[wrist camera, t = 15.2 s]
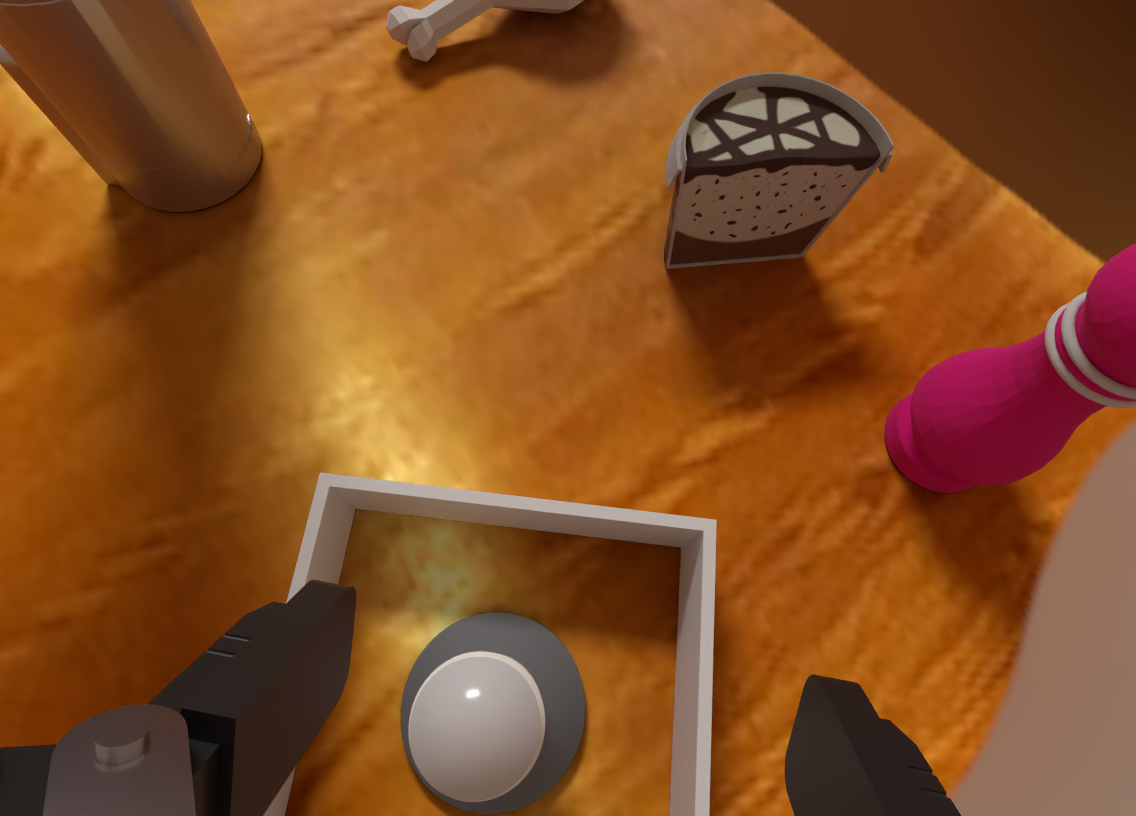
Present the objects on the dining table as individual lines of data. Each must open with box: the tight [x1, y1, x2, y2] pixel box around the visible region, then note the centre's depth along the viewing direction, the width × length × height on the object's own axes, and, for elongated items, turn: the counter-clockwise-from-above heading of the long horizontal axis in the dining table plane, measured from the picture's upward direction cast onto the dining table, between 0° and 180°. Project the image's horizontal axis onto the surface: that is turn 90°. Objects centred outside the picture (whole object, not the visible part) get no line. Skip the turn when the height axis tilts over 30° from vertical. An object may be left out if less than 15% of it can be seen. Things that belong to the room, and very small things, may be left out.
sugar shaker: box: [409, 651, 545, 802], centre depth 27 cm, size 5×5×10 cm
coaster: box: [401, 612, 585, 814], centre depth 32 cm, size 9×9×1 cm
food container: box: [664, 73, 894, 269], centre depth 39 cm, size 12×6×10 cm, turn 98°
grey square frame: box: [263, 473, 716, 816], centre depth 30 cm, size 19×19×5 cm
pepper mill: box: [885, 244, 1136, 493], centre depth 30 cm, size 7×7×20 cm
